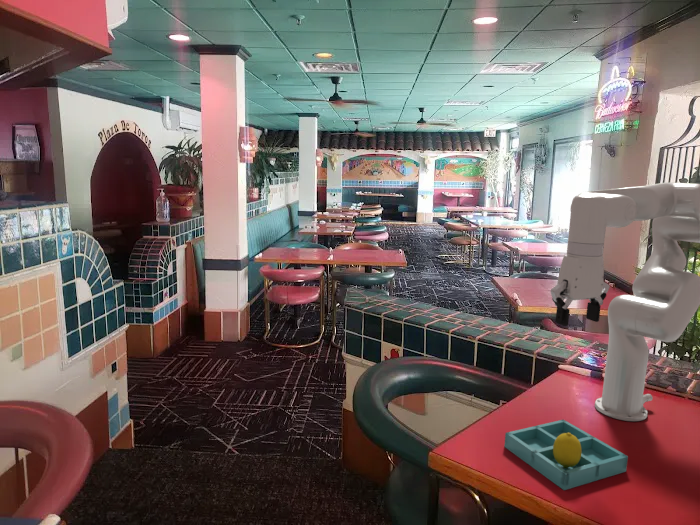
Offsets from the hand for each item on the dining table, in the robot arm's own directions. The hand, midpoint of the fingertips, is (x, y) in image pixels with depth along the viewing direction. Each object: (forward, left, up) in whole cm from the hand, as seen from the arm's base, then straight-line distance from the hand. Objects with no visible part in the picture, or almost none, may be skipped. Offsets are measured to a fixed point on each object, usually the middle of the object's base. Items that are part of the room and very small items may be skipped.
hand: (577, 322), depth 122 cm
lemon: (+13, +12, -28) cm, 33 cm away
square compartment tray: (+9, +8, -28) cm, 31 cm away
